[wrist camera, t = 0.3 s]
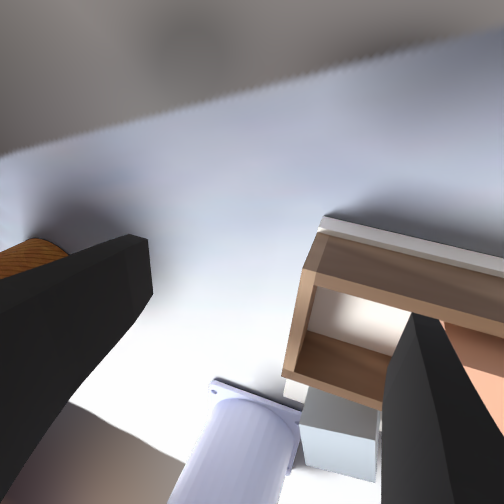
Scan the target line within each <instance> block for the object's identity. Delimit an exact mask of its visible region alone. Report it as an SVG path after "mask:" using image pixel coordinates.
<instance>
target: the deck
mask: <svg viewBox="0 0 504 504" xmlns="http://www.w3.org/2000/svg"><path fill="white" fill-rule="evenodd" d="M318 232H319V233H323V234H327V235H331V236H335V237H339V238H343V239H347V240H351V241H355V242H359V243H363V244H367V245H372V246H376V247H380V248H384V249H388V250H392V251H396V252H400V253H404V254H408V255H412V256H416V257H420V258H424V259H428V260H432V261H436V262H440V263H445V264H449V265H453V266H457V267H461V268H465V269H469V270H473V271H477V272H481V273H485V274H489V275H493V276H497V277H501V278H504V258H500V257H495V256H491V255H487V254H483V253H478V252H474V251H470V250H466V249H461V248H457V247H453V246H449V245H444V244H440V243H436V242H432V241H427V240H423V239H419V238H414V237H410V236H406V235H402V234H397V233H393V232H389V231H385V230H380V229H376V228H372V227H368V226H363V225H359V224H355V223H351V222H346V221H342V220H338V219H334V218H329V217H325V216H323V217H322V220H321V222H320V225H319V227H318ZM410 314H411V312H408V311H405V310H401V309H398V308H394V307H391V306H387V305H383V304H380V303H376V302H373V301H369V300H366V299H362V298H359V297H355V296H351V295H348V294H344V293H341V292H337V291H334V290H330V289H327V288H323V287H319V286H317V290H316V294H315V299H314V303H313V307H312V311H311V316H310V320H309V324H308V328H307V330H309V331H312V332H315V333H318V334H321V335H325V336H328V337H331V338H334V339H337V340H341V341H344V342H347V343H350V344H353V345H357V346H360V347H363V348H366V349H369V350H373V351H376V352H379V353H382V354H385V355H389V356H392V355H393V353H394V351H395V349H396V346H397V344H398V342H399V339H400V337H401V335H402V333H403V330H404V328H405V326H406V323H407V321H408V319H409V317H410ZM308 388H309V386H307V385H304V384H302V383H299V382H296V381H293V380H290V379H287V378H286V383H285V388H284V392H283V396H284V397H287V398H289V399H292V400H295V401H298V402H301V403H303V404H304V403H305V399H306V395H307V392H308ZM379 431H381V432H382V411H380V428H379Z"/></svg>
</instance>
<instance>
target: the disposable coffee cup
mask: <svg viewBox="0 0 504 504" xmlns="http://www.w3.org/2000/svg"><path fill="white" fill-rule="evenodd" d="M66 256H69V255H68V254H67V253H65V252H64V251H63V250H62V249H60V248H59V247H58V246H56V245H54V244H52V243H50V242H48V241H46V240H43V239H37V238H34V239H29V240H26V241H25V242H22V243H20V244H18V245H16V246H13V247H11V248H9V249H7V250H4V251H2V252H0V279H2V278H5V277H9V276H12V275H15V274H18V273H21V272H23V271H26V270H29V269H32V268H35V267H38V266H41V265H44V264H47V263H50V262H53V261H56V260H58V259H61V258H64V257H66Z"/></svg>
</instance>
